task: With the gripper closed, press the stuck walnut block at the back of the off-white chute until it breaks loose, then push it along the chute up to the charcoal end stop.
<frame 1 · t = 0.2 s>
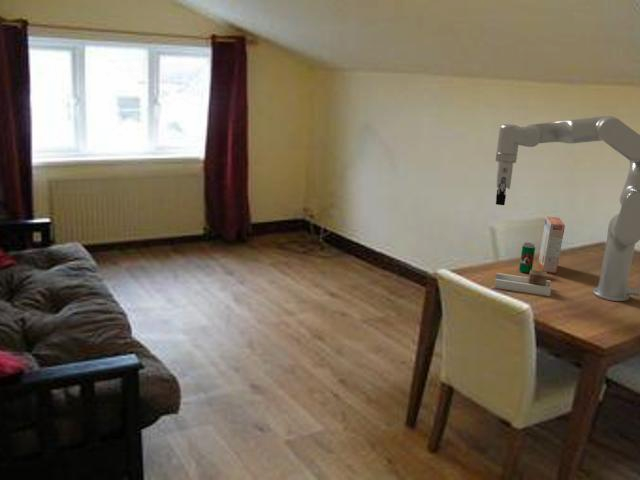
hand: (500, 202, 237), 31 cm above the table, tool pointing down, fingers open, 9 cm apart
cracker box: (547, 268, 263), on the table
soda can: (525, 272, 256), on the table
chute: (522, 288, 236), on the table
walnut block: (537, 280, 233), point 4 cm above the table, slide at 0.0 cm
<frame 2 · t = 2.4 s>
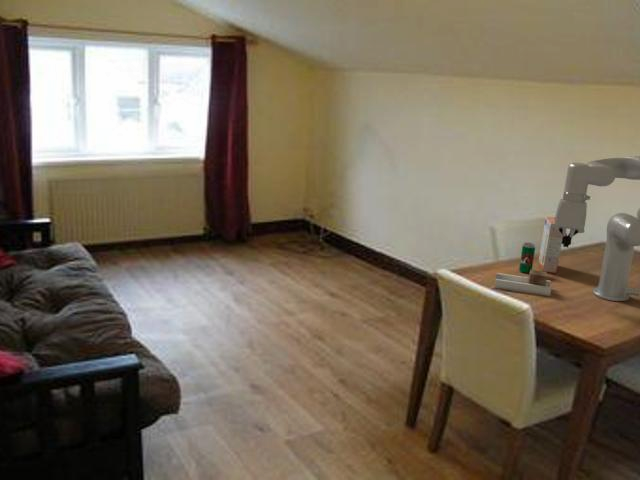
hand: (565, 246, 227), 19 cm above the table, tool pointing down, fingers closed
nothing on the table moved.
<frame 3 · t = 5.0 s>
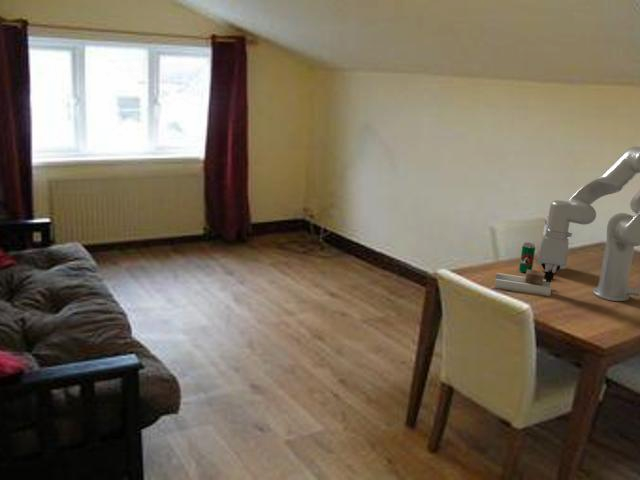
hand: (548, 281, 232), 4 cm above the table, tool pointing down, fingers closed
walnut block: (533, 280, 234), point 4 cm above the table, slide at 1.2 cm, touching gripper
everything else where it was.
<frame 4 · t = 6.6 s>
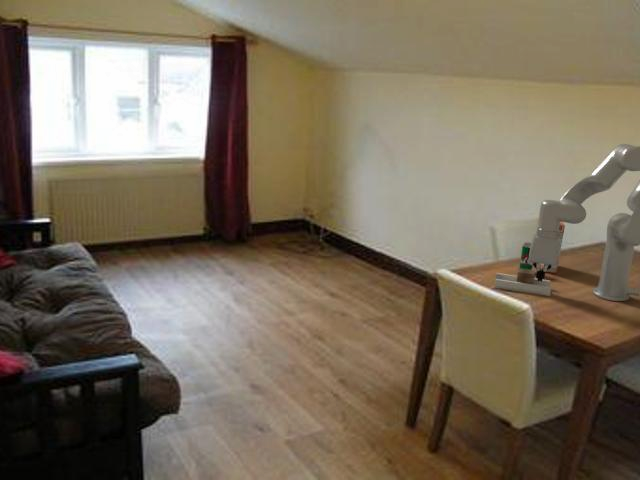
hand: (539, 280, 233), 4 cm above the table, tool pointing down, fingers closed
walnut block: (525, 278, 235), point 4 cm above the table, slide at 4.3 cm, touching gripper
everything else where it was.
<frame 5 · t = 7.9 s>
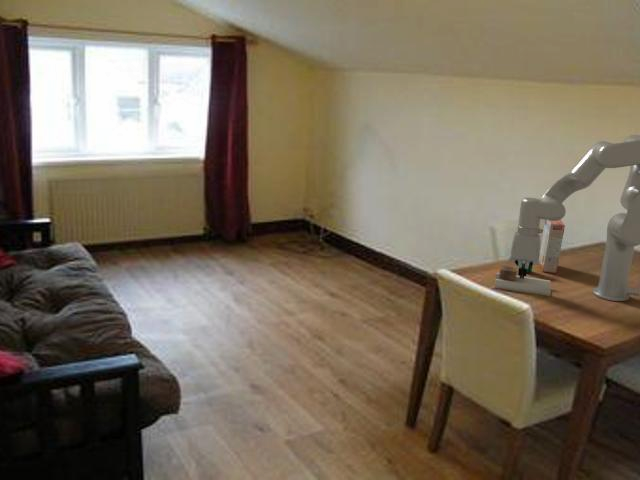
hand: (521, 277, 235), 4 cm above the table, tool pointing down, fingers closed
walnut block: (507, 276, 237), point 4 cm above the table, slide at 10.8 cm, touching chute, gripper
everything else where it was.
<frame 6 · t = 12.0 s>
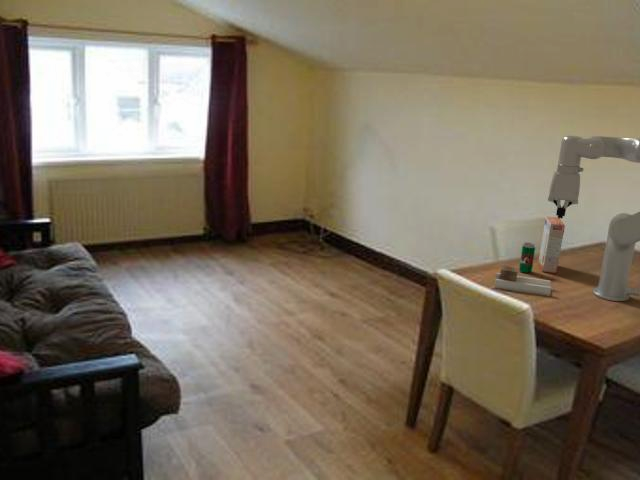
hand: (560, 217, 234), 27 cm above the table, tool pointing down, fingers closed
walnut block: (508, 276, 236), point 4 cm above the table, slide at 10.5 cm
everything else where it was.
at the end: walnut block slide at 10.5 cm; soda can moved 0.2 cm from its start; cracker box moved 0.2 cm from its start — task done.
